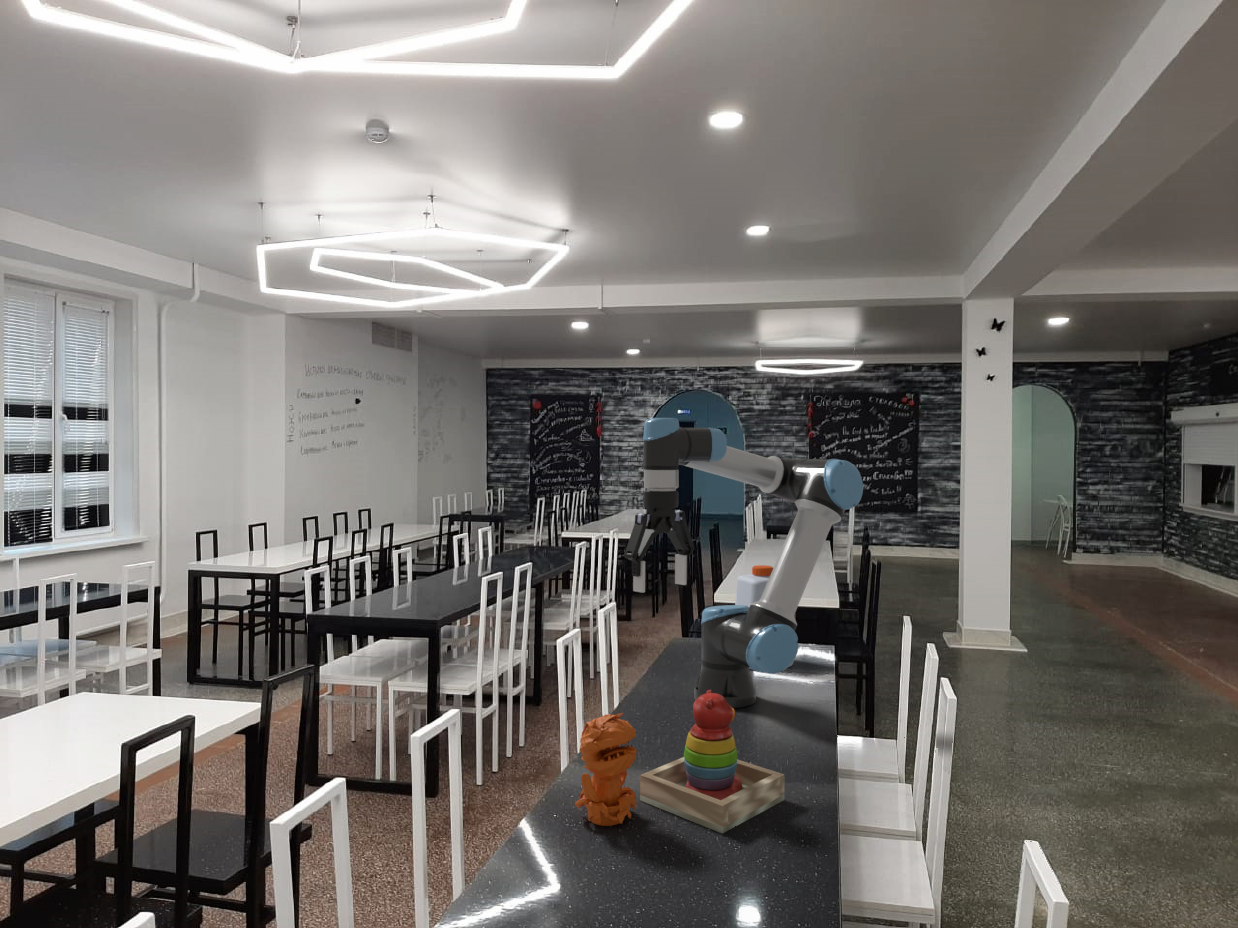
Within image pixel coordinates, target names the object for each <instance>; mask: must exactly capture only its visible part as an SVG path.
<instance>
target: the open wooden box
mask: <svg viewBox="0 0 1238 928" xmlns="http://www.w3.org/2000/svg"><path fill="white" fill-rule="evenodd" d="M735 777H737V778H738V779H740V780H741V782H742V790H741V791H739V792H737V793H734V794H732V795H730V796H728V797H726V798H724V799H722V800H718V799H716V798H713V797H710V796H708V795H705V794H702V793H700V792H697V791H694V790H691V789H689V788H686V784H687V782H688V779H687V775H686V769H685V764H684V756H683V757H680V758H678V759H675V760H673V761H670V762H669V763H666V764H663V765H661V766H659V767H657V768H654V769H652V770H649V771H647V772H643V773H642V774H640V776H639V801H640V802H643V803H645V804H648V805H650V806H654V807H655V808H657V809H658V808H659V809H660V810H663V811H666V812H668V813H670V814H674V815H676V816H678V817H681V818H683V819H686V820H688V821H690V822H693V823H694V824H698V825H700V826H702V827H705V828H707V829H710V830H713V831H715V832H717V833H719V834H724V833H726V832H728V831H729V830H732V829H734V828H736V827H737V826H739V825H741V824H742V823H745V822H746V821H749V820H750V819H752V818H754V817H756V816H757V815H759V814H761V813H763V812H765V811H767V810H768V809H771V808H772V807H774V806H776V805H778V804H779V803H781V802H783V801H785V774H784V773H781V772H778V771H775V770H771V769H768V768H765V767H763V766H760V765H756V764H753V763H750V762H748V761H747V762H746V761H743V760H740V759H739V758H737V768H736V772H735ZM735 826H736V827H735Z"/></svg>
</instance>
